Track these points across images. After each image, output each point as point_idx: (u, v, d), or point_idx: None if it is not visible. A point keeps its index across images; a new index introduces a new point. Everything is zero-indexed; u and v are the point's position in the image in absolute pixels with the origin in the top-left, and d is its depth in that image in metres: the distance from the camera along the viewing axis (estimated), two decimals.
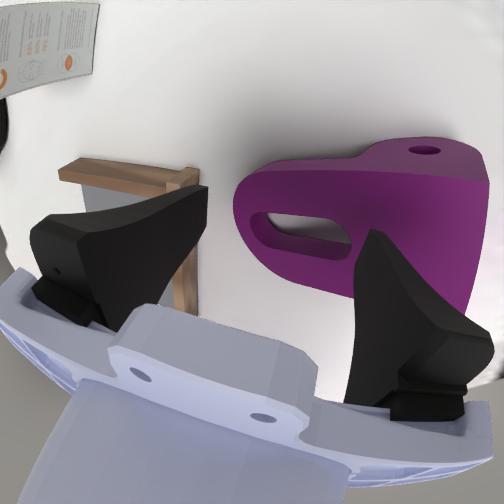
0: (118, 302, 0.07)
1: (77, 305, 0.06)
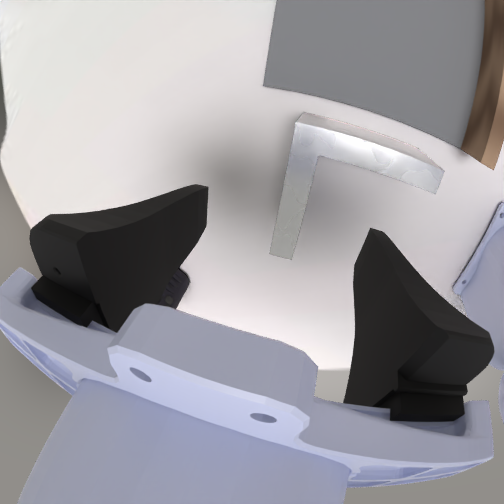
0: (118, 302, 0.07)
1: (77, 305, 0.06)
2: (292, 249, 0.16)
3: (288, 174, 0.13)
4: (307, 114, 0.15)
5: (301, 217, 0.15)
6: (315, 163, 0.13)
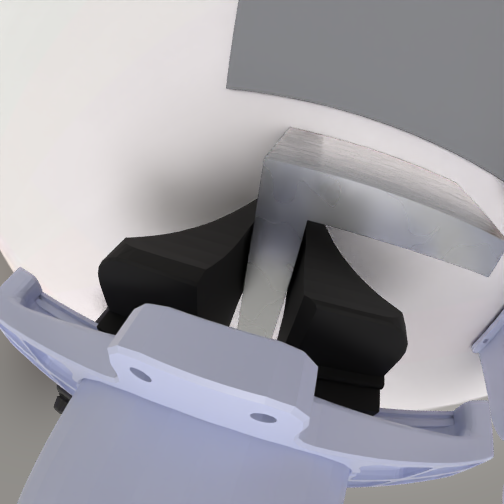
0: None
1: None
2: None
3: (254, 249, 0.08)
4: (294, 132, 0.10)
5: (278, 308, 0.09)
6: (301, 233, 0.07)
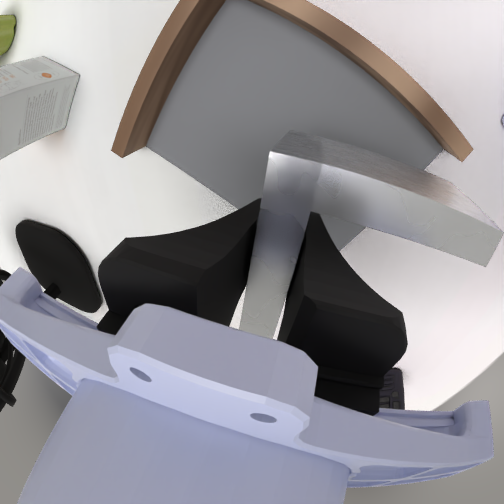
0: None
1: None
2: None
3: (258, 241, 0.08)
4: (294, 133, 0.10)
5: (281, 303, 0.09)
6: (304, 224, 0.08)
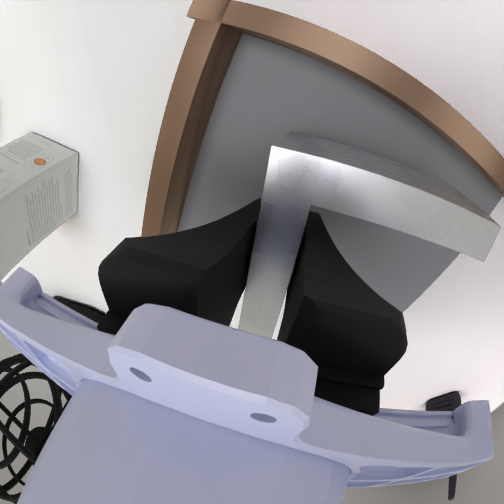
0: None
1: None
2: None
3: (259, 235, 0.08)
4: (295, 134, 0.10)
5: (281, 299, 0.10)
6: (304, 218, 0.08)
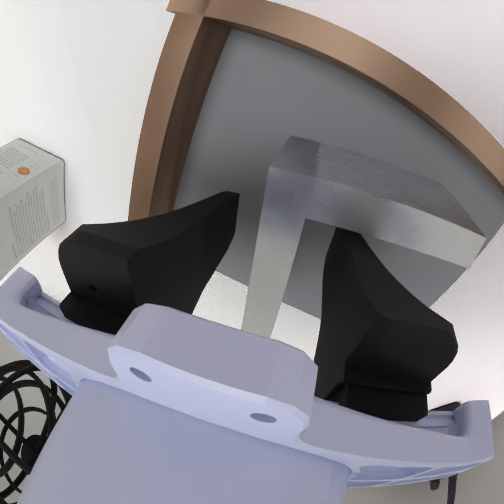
0: None
1: (118, 326, 0.06)
2: (270, 329, 0.12)
3: (260, 243, 0.09)
4: (294, 140, 0.11)
5: (280, 296, 0.11)
6: (300, 229, 0.09)
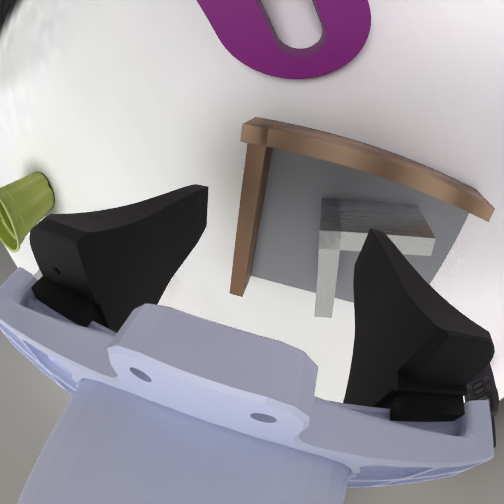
0: (118, 302, 0.07)
1: (77, 305, 0.06)
2: (331, 311, 0.21)
3: (319, 265, 0.18)
4: (325, 203, 0.20)
5: (334, 290, 0.19)
6: (338, 255, 0.18)
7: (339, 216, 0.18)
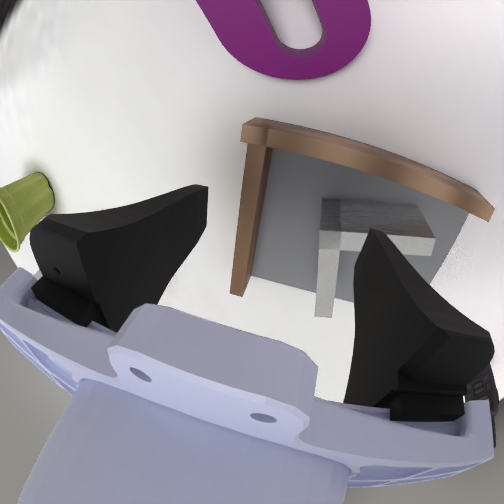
0: (118, 302, 0.07)
1: (77, 305, 0.06)
2: (331, 311, 0.21)
3: (320, 265, 0.18)
4: (325, 203, 0.20)
5: (334, 290, 0.19)
6: (338, 255, 0.18)
7: (339, 216, 0.18)
